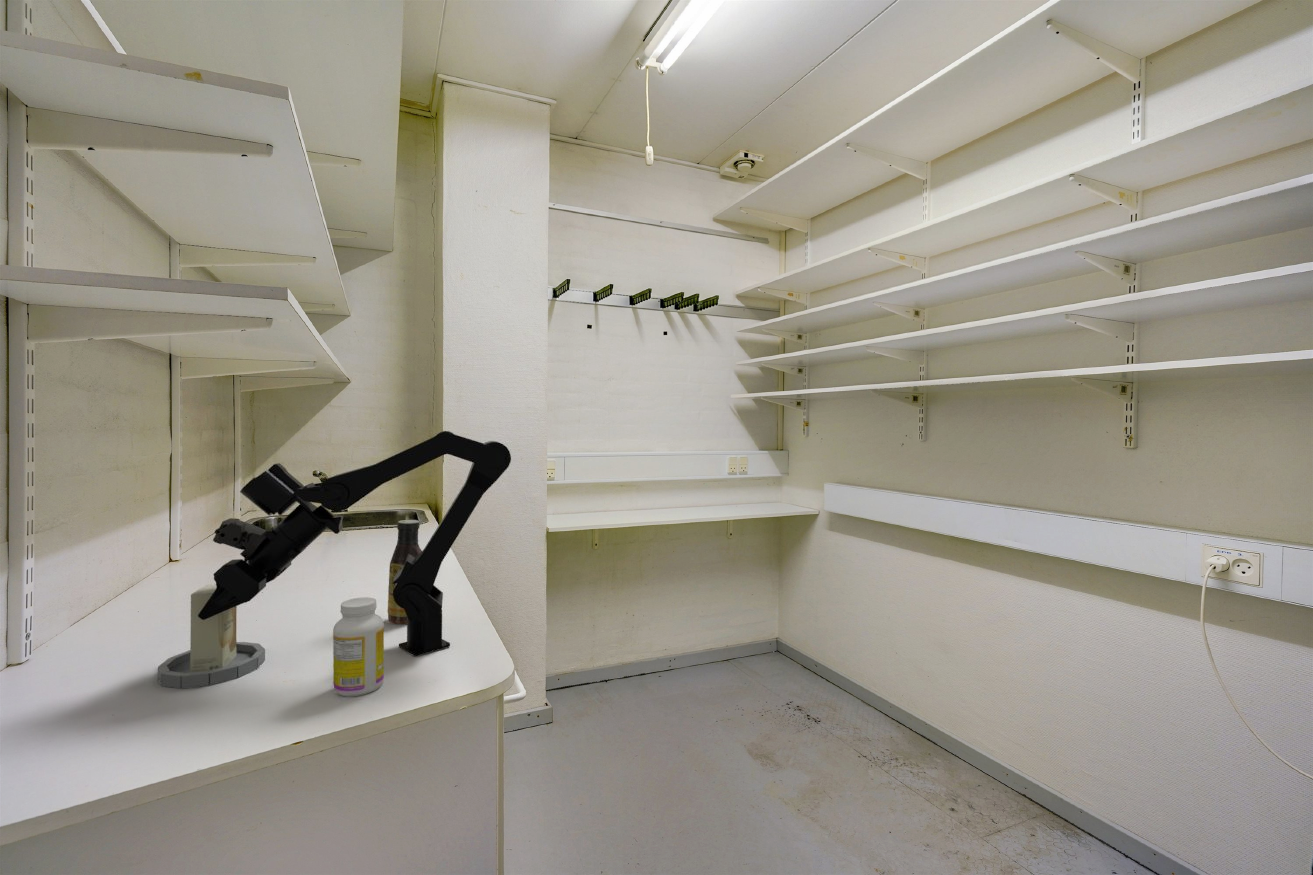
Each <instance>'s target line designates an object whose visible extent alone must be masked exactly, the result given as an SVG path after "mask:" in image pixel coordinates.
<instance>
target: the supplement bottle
mask: <svg viewBox="0 0 1313 875" xmlns="http://www.w3.org/2000/svg"><path fill="white" fill-rule="evenodd" d="M376 609H377V599H376V598H373V597H356V598H351V599H347V600H345V601H342V602H340V613H341V616H342V618H340V619H339V620H337V621H336V623H335V624H334V625H333V629H332V630H333V631H332V645H333V646H332V647H333V648H332V649H333V650H332V656H333V663H332V664H333V666H332V668H333V674H332V675H333V677H332V678H333V679H332V680H333V690H334V692H335V694H336V695H339V696H341V697H348V698H349V697H350V698H351V697H359V696H363V695H367V694H370V693H372V692H375V691H376V690H377V689H379V688H380V687H381V686H382V685H383V683H384V681H385V680H384V679H385V666H384V665H385V662H384V661H385V657H384V655H385V646H384V645H385V640H384V639H385V636H384V635H385V634H384V631H385V630H384V629H385V627H384V626H385V624H384V619H383V618H382V616H380V615H378V614H376V612H375V611H376Z"/></svg>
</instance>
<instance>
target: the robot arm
mask: <svg viewBox="0 0 1313 875" xmlns="http://www.w3.org/2000/svg"><path fill="white" fill-rule="evenodd" d="M445 455H450V456H452V457H456V458H458V459H461V460H464V461H467V462H471V466H470V468H469V471H468V473H467V477H466V479H465V482H464V484H462V487H461V488H460V490H459V492H458V494H457V495H456V496H455V498H454V499H453V502H452V503H451V504H450V506H449V508H448V509H447V511H446V513H445V515H444V516H443V518H442V519H441V521H440V523H439V524H438V526H437V527H436V529H435V531H434V532H433V534H432V536H431V537H430V539H429V541H428V542H427V543H426V545H425V546H424V548H423V550H422V552H421V553H420V554H419V555H418V556H417V557H416V558H414V557H413V556H412V555H410V554H408V557H407V559H406V562H405V564H404V566H403V567H402V569H401V570H399V571H398V572H397V573H396V576H395V578H394V581H393V584H396V585H395V588H394V590H393V598H394V601H395V602H396V604H397V605H398V606H399V607H401V608H403V609H404V610H405V613H406V615H407V624H406V641H403V642H401V643H400V642H399V644H398V648H400V649H401V650H403V651H404V652H406V653H408V654H410V655H412V656H413V657H418V656H423V655H425V654H428V653H433V652H436V651H439V650H442V649H443V650H444V649H445V648H448V647H450V646H451V643H450V642H449V641H447V640H445V639H443V600H444V592H443V591H441V589H439V588H438V587H437V586H436V585H435V581H436V579H437V576H438V573H439V571H440V568H441V565H442V563H443V561H444V559H445V557H446V556H447V554H448V553H449V551H450V549H451V548H452V546H453V544H454V542H455V541H456V540H457V538H458V537H459V535H460V533H461V531H462V529H463V528H464V527H465V525H466V523H467V522H468V520H469V518H470V517H471V515H472V513H473V512H474V510H475V508H476V507H477V505H478V504H479V502H480V501H481V499H482V497H483V496H484V494H485V493H486V492H487V491H488V490H489V489H490V488H491V487H492V486H493V485H494V484H495V483H496V482H497V481H498V480H499V478H501V476H502V475H503V474H504V473H505V472H506V471H507V469H508V468H509V467H510V464H511V461H512V456H511V455H512V454H511V451H510V450H509V449H508V447H507V446H506V445H505V444H504V443H502V442H499V441H496V440H490V441H489V440H488V441H487V442H484V443H483V442H481V441H477V440H474V439H472V438H468V437H464V436H461V435H458V434H455V433H454V432H452V431H450V430H442V431H440V432H438V433H437V434H436V435H434V436H433V437H431V438H429V439H428V438H427V439H426V440H423V441H421V442H420V443H418V444H415V445H413V446H411V447H409V448H407V449H404V450H403V451H400V452H398V453H395V454H394V455H392V456H389V457H387V458H385V459H383V460H381V461H378V462H377V463H375V464H372V465H371V464H369V465H368V466H362V467H359V468H356V469H352V470H349V471H345V472H342V473H339V474H336V475H333V476H330V477H328V478H326V479H325V480H323V481H322V482H318V483H313V482H310V483H307V484H306V485H304V484H303V483H302V482H300V481H299V480H298V479H297V478H295V476H293V475H292V474H291V473H290V472H289V471H288V470H287V469H286V468H285V466H284V465H282V464H281V463H279V462H278V463H274V464H272V465H271V466H270V467H269V468H267V469H266V470H265V471H263V472H262V473H260V474H259V475H258V476H255V477H253V478H252V479H251V480H250V481H248V482H247V483H246V484H245V485H244V486H243V487H242V488H241V490H240V491H239V493H240V494H242V495H243V496H244V497H245V498H247V499H248V500H249V501H250V502H251V503H253V504H254V505H255V506H257V508H259V509H260V510H261V511H263V512H264V513H265V514H266V515H268V517H269V516H270V517H271V516H272V515H273V516H275V515H276V514H278V516H280V517H281V516H283V515H284V514H285V513H286V512H287V511H288V510H290V509H291V508H293V506H295V504H296V503H298V504H299V505H297V506H296V507H295V508H294V509H293V510H291V512H290V513H289V514H288V515H286V516H285V517H284V518H283V519H282V520H281V521H280V522H278V524H277V525H274V526H272V527H271V528H270V529H269V528H268V529H264V528H261V527H259V526H256V525H255V524H252V523H248V522H246V521H243V520H240V519H237V518H233V517H230V518H228V519H225V520H223V521H222V522H221V524H220V526H219V527H218V528H216V529H215V530H214V534H215V535H214V537H213V538H212V541H213V542H214V543H216V544H218V545H222V544H223V545H225V546H229V547H232V548H235V549H238V550H242V551H241V552H240V553H239V555H240V556H241V557H243V558H242V559H241V558H239V559H231V560H230V561H228V562H226V563H224V564H223V565H222V566H221V567H220V568H219V569H217V570H216V571H215V572H214V573H213V580H214V581H215V584H216V590H215V591H214V593H213V594H212V596H211V597H210V599H209V600H208V601H207V603H206V604H205V606H204V607H203V608H202V610H201V611H200V613H199V614H198V617H199V618H200V619H202V620H205V619H208V618H210V617H212V616H214V615H217V614H219V613H221V612H224V611H226V610H228V609H231V608H233V607H235V606H237V607H238V606H240V605H243V604H246V603H248V602H250V601H252V599H254V598H255V597H256V596H257V595H258V594H259V593H260V592H261V591H262V590H263V589H264V588H266V587H267V584H268V583H270V582H272V581H274V580H276V579H277V577H279V576H280V575H281V574H283V573H284V572H285V571H286V570H287V569H288V568H289V567H290V566H292V561H293V560H294V559H296V558H297V557H298V556H299V555H300V554H302V553H303V552H304V550H306V549H307V547H309V546H310V545H311V544H312V543H313V542H314V541H315V540H316V539H317V538H318V537H320V535H322V534H323V533H324V532H325V531H326V530H327V529H328V530H330V531H331V532H332V533H334V534H336V535H337V534H339V533H340V532H342V530H343V528H344V527H343V519H344V515H342V514H341V515H334V514H333V513H332V512H342V511H344V510H345V511H346V510H347V509H349V508H350V507H352V506H353V505H355V504H356V503H358V502H359V501H360V500H361V499H364V498H365V497H366V496H368V495H369V494H371V493H372V492H373V491H374V490H376V489H378V488H380V486H382V485H383V484H386V483H388V482H390V481H393V480H395V479H397V478H398V477H401V476H402V475H404V474H406V473H409V472H411V471H412V470H415V469H418V468H419V467H421V466H424V465H426V464H427V463H430V462H432V461H434V460H436V459H438V458H440V457H443V456H445ZM313 503H314V504H313ZM315 504H321V505H319V506H316V505H315ZM331 511H332V512H331Z"/></svg>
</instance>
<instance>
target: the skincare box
mask: <svg viewBox="0 0 1313 875" xmlns="http://www.w3.org/2000/svg"><path fill="white" fill-rule="evenodd" d="M215 590H216V583H214V584H213V583H212V584H206V585H205V586H203V587H201V588H199V589H197V590H196V591H194V592H193V593H191V594H190V649H189V650H190V673H193V672H203V671H211V670H215V669H220V668H224V667H226V666H227V665H228V664H229V663H230V662H231V661H232V660H233V659H234V658H235V657H236V642H237V610H238V608H237V607H238V606H235V607H233V608H231V609H228V610H226V611H224V612H221V613H219V614H217V615H214V616H212V617H210V618H208V619H205V620H202V619H200V618H199V617H198V614H199V613H200V611H201V610H202V608H203V607H204V606H205V604H206V603H207V601H208V600H209V599H210V597H211V596H212V594H213V593H214V591H215Z"/></svg>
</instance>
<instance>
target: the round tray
mask: <svg viewBox="0 0 1313 875" xmlns="http://www.w3.org/2000/svg"><path fill="white" fill-rule="evenodd" d="M265 661H266V648H264V646H262V645H261V644H260V643H256V642H248V641H238V642H237V641H236V657H235V658H234V659H233V660H232V661H231V662H230V663H229V664H228V665H227V666H226V667H224V668H220V669H215V670H211V671H203V672H193V673H190V649H188V650H187V651H184V652H181V653H179V654H176V655H173V656H171V657H168V658H167V659H166V660H165V661H163V662H162V663H161V664H159V665H158V666H157V680H158V682H159V684H160V686H162V687H167V688H176V689H189V688H197V687H199V688H200V687H206V686H207V687H208V686H211V685H216V684H221V683H224V682H228V681H232V680H235V679H239V678H241V677H243V676H245V675H247V674H249V673H250V674H251V673H252V672H254V671H256V670H258V669H260V667H261V666H260V665H263V663H264V662H265ZM259 666H260V667H259ZM257 668H258V669H257ZM255 669H256V670H255ZM251 671H252V672H251Z"/></svg>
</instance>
